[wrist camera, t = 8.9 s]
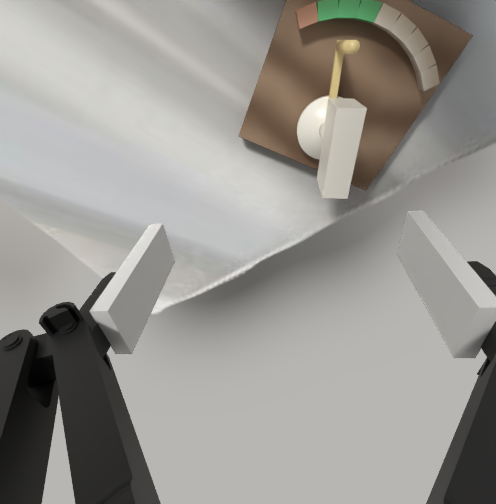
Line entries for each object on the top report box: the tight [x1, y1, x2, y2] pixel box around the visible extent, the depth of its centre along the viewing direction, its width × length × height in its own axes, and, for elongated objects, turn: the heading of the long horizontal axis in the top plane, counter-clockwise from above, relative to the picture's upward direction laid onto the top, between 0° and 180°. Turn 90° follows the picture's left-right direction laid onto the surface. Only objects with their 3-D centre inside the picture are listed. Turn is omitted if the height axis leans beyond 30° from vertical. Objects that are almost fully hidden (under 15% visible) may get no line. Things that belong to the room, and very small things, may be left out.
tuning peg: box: [297, 40, 367, 199], centre depth 29 cm, size 7×12×11 cm, turn 0°
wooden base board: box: [239, 0, 473, 190], centre depth 33 cm, size 18×18×4 cm
